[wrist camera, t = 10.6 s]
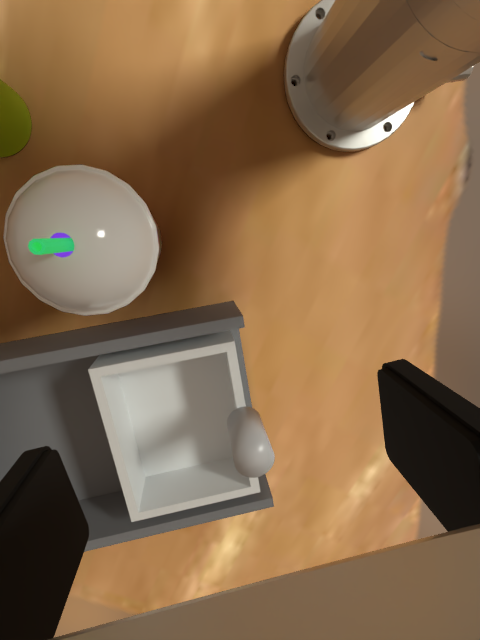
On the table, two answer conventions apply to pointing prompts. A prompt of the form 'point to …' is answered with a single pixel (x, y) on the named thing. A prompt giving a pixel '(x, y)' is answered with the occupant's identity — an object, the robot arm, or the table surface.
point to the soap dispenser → (13, 121)
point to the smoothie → (81, 240)
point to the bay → (85, 418)
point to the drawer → (180, 424)
